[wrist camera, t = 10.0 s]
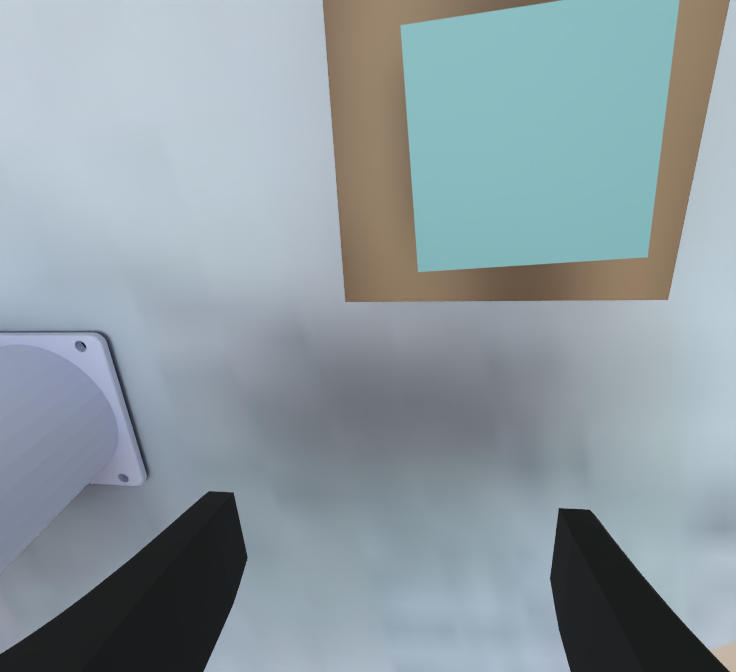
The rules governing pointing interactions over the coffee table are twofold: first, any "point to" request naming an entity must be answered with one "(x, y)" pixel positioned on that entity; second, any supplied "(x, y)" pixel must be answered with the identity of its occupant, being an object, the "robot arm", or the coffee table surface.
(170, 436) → the coffee table surface
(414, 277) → the walnut block
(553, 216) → the teal block
